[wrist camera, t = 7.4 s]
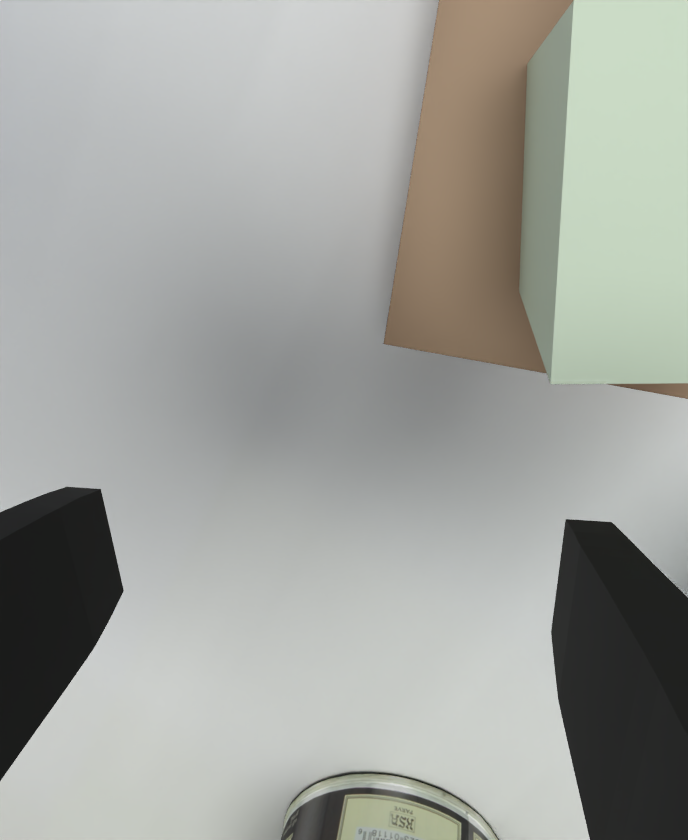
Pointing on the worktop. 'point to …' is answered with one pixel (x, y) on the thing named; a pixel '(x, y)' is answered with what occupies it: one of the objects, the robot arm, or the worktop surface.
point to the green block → (608, 194)
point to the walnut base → (473, 191)
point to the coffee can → (381, 812)
